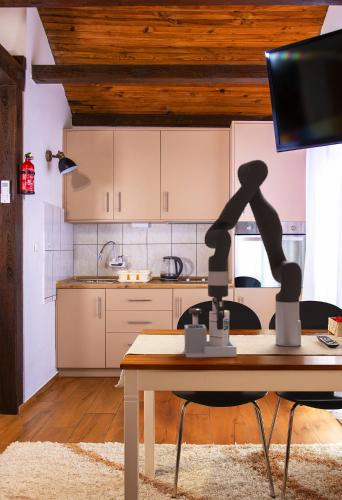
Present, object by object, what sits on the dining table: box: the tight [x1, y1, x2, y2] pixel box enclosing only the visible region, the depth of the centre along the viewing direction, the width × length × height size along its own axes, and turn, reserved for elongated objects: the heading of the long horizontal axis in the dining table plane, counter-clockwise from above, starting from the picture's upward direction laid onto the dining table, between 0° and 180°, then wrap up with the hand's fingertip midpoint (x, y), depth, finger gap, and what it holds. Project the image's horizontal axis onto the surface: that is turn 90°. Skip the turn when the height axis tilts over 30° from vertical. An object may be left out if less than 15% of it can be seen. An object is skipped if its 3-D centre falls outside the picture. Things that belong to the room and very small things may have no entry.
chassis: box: [183, 324, 238, 358], centre depth 175 cm, size 18×11×10 cm, turn 92°
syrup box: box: [208, 309, 230, 347], centre depth 175 cm, size 6×6×14 cm
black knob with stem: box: [188, 307, 202, 328], centre depth 175 cm, size 4×4×8 cm
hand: (218, 327), depth 175 cm, fingers open, 8 cm apart
